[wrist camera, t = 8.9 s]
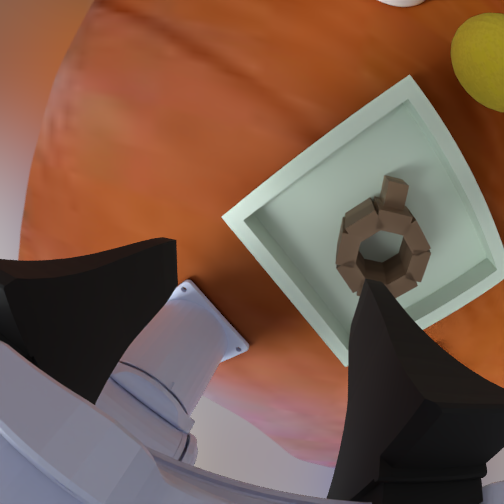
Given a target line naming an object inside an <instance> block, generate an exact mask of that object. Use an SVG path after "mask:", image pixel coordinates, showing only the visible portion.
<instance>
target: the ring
mask: <svg viewBox="0 0 504 504" xmlns="http://www.w3.org/2000/svg"><path fill="white" fill-rule="evenodd" d="M408 189H409V185H408V184H407V183H406V182H405V181H404V180H403V179H399V178H395V177H391V176H387V175H384V178H383V183H382V188H381V193H380V198H379V197H375V196H374V200H373V201H372V199H371V198H370V197H369V198H368V199H366V200H365V201H363V202H362V203H360V204H359V205H357V206H355V207H354V208H352V209H351V210H349V211H348V212H346V213H345V217H343V218H342V223H341V228H340V232H339V237H338V242H337V250H336V262H335V264H336V269H337V270H338V272H339V273H340V275H341V276H342V278H343V279H344V281H345V282H346V284H347V285H348V287H349V288H350V289H351V291H352V292H353V293H354V292H356V291H357V296H360V294H361V291H362V288H363V284H364V281H365V278H366V279H371V280H376V281H381V282H382V283H383V284H384V285H385V286H386V287H387V288H388V290H389V291H390V292H391V293H392V295H393V296H394V297H395V298H397V297H399V296H401V295H403V294H405V293H406V292H408V291H410V290H412V289H413V288H415V287H417V286H418V285H417V282H421V281H422V278H423V276H424V273H425V270H426V267H427V264H428V261H429V258H430V256H431V252H430V250H429V249H431V247H430V245H429V243H428V241H427V239H426V237H425V235H424V234H423V232H422V230H421V228H420V226H419V224H418V222H417V220H416V219H415V218H414V216H413V215H412V213H411V212H410V210H409V209H408V208H407V206H405V202H406V198H407V193H408ZM380 230H382V231H386V232H390V233H395V234H399V235H403V239H402V243H401V246H400V249H399V253H398V254H396V255H394V256H393V257H391V258H389V259H387V260H386V261H384V262H377V261H373V260H368V259H364V258H363V256H362V254H361V253H360V251H359V247H360V243H361V242H362V241H364V240H365V239H367V238H369V237H370V236H372V235H374V234H375V233H377V232H378V231H380Z"/></svg>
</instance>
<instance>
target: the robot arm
mask: <svg viewBox="0 0 504 504" xmlns="http://www.w3.org/2000/svg"><path fill="white" fill-rule="evenodd" d="M177 285H178V279H177V251H176V240H173V239H168V238H164V237H162V238H154V239H150V240H145V241H141V242H137V243H134V244H130V245H126V246H123V247H119V248H115V249H111V250H107V251H103V252H99V253H95V254H90V255H85V256H79V257H73V258H66V259H55V260H43V261H17V260H5V259H0V504H504V481H499V482H494V483H491V484H489V485H486V486H484V487H482V483H481V478H483V477H485V476H486V474H487V467H486V462H488V461H489V460H490V459H491V458H492V457H493V456H495V455H496V454H497V453H498V452H499V451H500V450H501V449H502V448H503V447H504V388H502V387H500V386H498V385H496V384H494V383H492V382H490V381H488V380H486V379H485V378H483V377H481V376H480V375H478V374H476V373H475V372H473V371H472V370H470V369H469V368H467V367H466V366H464V365H463V364H461V363H460V362H459V361H457V360H456V359H455V358H454V357H452V356H451V355H450V354H448V353H447V352H446V351H445V350H443V349H442V348H441V347H440V346H439V345H438V344H437V343H436V342H434V341H433V340H432V339H431V338H430V337H429V336H428V335H427V334H426V333H425V332H424V331H423V330H422V329H421V328H420V327H419V326H418V325H417V323H416V322H415V321H414V320H413V319H412V318H411V317H410V316H409V314H408V313H407V312H406V311H405V310H404V308H403V307H402V306H401V305H400V304H399V302H398V301H397V300H396V298H395V297H394V296H393V295H392V293H391V292H390V291H389V290H388V288H387V287H386V286H385V285H384V284H383V283H382V282H381V281H376V280H371V279H366V278H365V281H364V284H363V288H362V291H361V294H360V298H359V301H358V304H357V307H356V310H355V314H354V317H353V320H352V323H351V328H350V337H349V346H348V405H347V413H346V419H345V425H344V431H343V436H342V441H341V446H340V451H339V455H338V459H337V464H336V468H335V472H334V476H333V479H332V483H331V486H330V489H329V493H328V496H327V499H325V498H317V497H311V496H304V495H298V494H293V493H288V492H283V491H277V490H273V489H269V488H264V487H260V486H256V485H252V484H248V483H245V482H241V481H238V480H234V479H231V478H227V477H224V476H221V475H218V474H215V473H212V472H209V471H205V470H203V469H200V468H197V467H194V464H195V461H196V458H197V454H198V448H197V439H196V437H195V436H194V435H192V434H190V433H189V432H190V430H191V428H192V426H193V425H194V423H195V421H194V420H193V419H192V418H190V416H191V414H192V412H193V410H194V409H195V407H196V405H197V403H198V401H199V400H200V398H201V396H202V394H203V392H204V391H205V389H206V387H207V385H208V383H209V382H210V380H211V378H212V376H213V374H214V373H215V371H216V369H217V367H218V365H219V363H221V362H223V361H225V360H227V359H230V358H232V357H234V356H237V355H239V354H241V353H243V352H246V351H247V350H248V349H249V344H248V343H247V341H246V340H245V339H244V338H243V337H242V336H241V335H240V334H239V333H238V332H237V331H236V330H235V329H234V327H233V326H232V325H231V324H230V323H229V322H228V321H227V320H226V319H225V318H224V317H223V315H222V314H221V313H220V312H219V311H218V310H217V309H216V308H215V307H214V305H213V304H212V303H211V302H210V301H209V300H208V299H207V297H206V296H205V295H204V294H203V293H202V292H201V291H200V290H199V288H198V287H197V286H196V285H195V284H194V283H193V282H192V281H191V280H185V281H184V282H182V283H181V284H180V285H179V286H177ZM183 287H185V288H186V289H187V290H185V289H184V288H183ZM238 347H239V348H241V349H239V348H238Z"/></svg>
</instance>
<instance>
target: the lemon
mask: <svg viewBox="0 0 504 504" xmlns="http://www.w3.org/2000/svg"><path fill="white" fill-rule="evenodd" d="M451 61H452V66H453V69H454V72H455V75H456V77H457V78H458V80H459V82H460V84H461V85H462V86H463V88H464V89H465V90H466V92H467V93H468V94H469V95H470V96H471V97H473V98H474V99H475V100H476V101H477V102H479V103H481V104H482V105H484V106H485V107H487V108H490V109H493V110H496V111H498V112H504V14H501V13H483V14H480V15H477V16H474V17H472V18H469V19H468V20H466V21H465V22H464V23H463V24H462V25H461V26H460V27H459V28H458V29H457V31H456V33H455V35H454V38H453V40H452V44H451Z"/></svg>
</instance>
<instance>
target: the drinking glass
mask: <svg viewBox="0 0 504 504" xmlns="http://www.w3.org/2000/svg"><path fill="white" fill-rule="evenodd" d="M378 1H380V2H382V3H385V4H388V5H392V6H398V7H410V6H415V5H418V4H420V3H422V2H424V1H425V0H378Z"/></svg>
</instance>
